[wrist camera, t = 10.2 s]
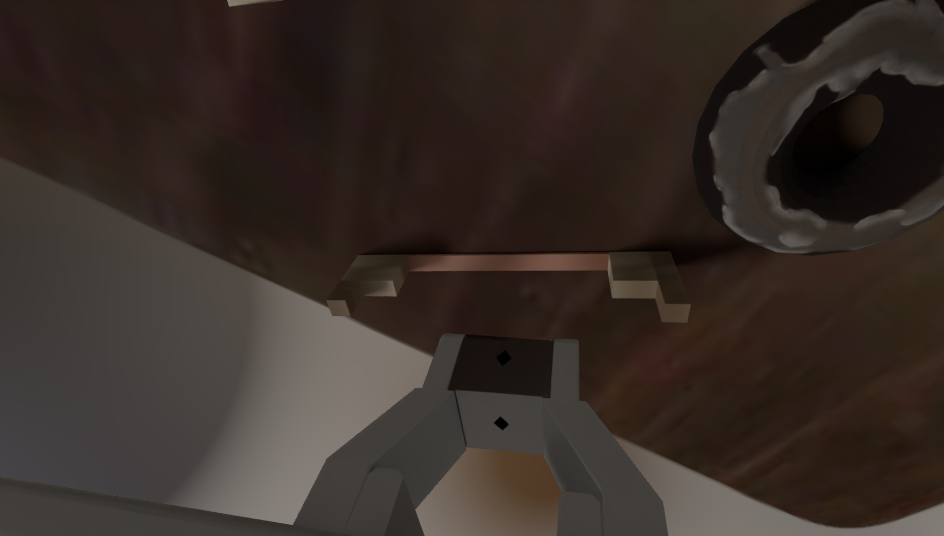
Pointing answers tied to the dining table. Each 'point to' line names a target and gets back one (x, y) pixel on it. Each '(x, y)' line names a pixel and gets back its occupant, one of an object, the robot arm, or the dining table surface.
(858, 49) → the donut
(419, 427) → the robot arm
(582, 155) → the dining table surface
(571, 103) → the dining table surface
